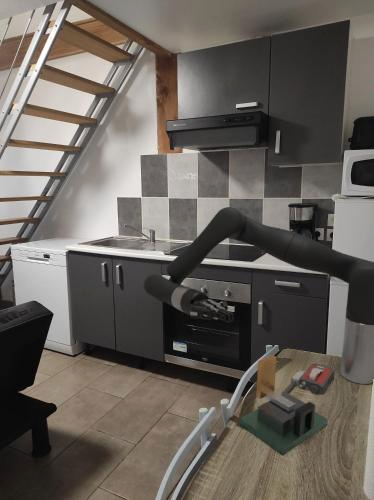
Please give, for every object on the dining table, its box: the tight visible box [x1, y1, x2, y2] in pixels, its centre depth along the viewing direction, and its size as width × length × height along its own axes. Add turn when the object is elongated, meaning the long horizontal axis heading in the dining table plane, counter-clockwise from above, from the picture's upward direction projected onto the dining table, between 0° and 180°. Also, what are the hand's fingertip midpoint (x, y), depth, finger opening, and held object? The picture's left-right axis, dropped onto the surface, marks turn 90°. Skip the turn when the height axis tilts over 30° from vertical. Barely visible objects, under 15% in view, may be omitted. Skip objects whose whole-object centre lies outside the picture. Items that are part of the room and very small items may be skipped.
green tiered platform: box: [239, 392, 328, 455], centre depth 83 cm, size 16×12×7 cm
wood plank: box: [256, 354, 296, 412], centre depth 84 cm, size 5×8×9 cm, turn 38°
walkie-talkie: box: [281, 363, 335, 395], centre depth 100 cm, size 9×4×20 cm
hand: (231, 318), depth 94 cm, fingers closed
